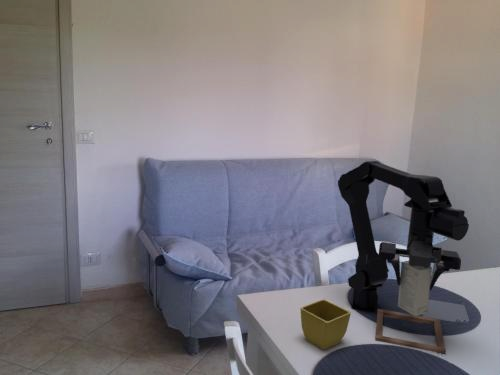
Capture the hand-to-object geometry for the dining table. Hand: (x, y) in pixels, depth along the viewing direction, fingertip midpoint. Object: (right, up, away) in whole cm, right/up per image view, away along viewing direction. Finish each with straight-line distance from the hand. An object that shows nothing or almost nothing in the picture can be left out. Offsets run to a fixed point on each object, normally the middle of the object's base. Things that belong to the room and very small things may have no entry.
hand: (414, 287), depth 111 cm
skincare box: (0, -6, +1) cm, 6 cm away
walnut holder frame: (-1, -12, +3) cm, 13 cm away
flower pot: (-24, -13, -4) cm, 27 cm away
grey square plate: (+14, -10, +15) cm, 23 cm away
